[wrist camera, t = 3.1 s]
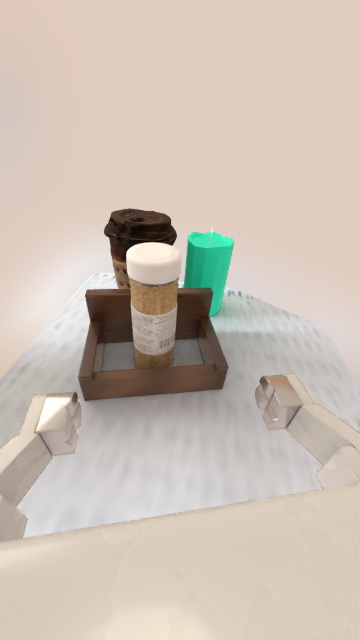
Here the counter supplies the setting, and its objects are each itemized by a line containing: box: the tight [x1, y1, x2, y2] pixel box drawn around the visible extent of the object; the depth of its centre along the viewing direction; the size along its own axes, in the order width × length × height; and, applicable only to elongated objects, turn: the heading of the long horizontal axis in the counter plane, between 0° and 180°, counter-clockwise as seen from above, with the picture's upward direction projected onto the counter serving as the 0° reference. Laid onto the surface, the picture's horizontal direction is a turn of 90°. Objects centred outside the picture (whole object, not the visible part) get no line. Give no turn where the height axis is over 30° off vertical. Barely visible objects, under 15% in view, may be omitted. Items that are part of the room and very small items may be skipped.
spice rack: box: [78, 288, 228, 400], centre depth 26 cm, size 14×9×7 cm, turn 98°
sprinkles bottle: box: [126, 242, 181, 369], centre depth 24 cm, size 5×5×14 cm
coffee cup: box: [104, 209, 177, 289], centre depth 33 cm, size 9×8×13 cm
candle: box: [184, 227, 234, 316], centre depth 34 cm, size 6×6×12 cm
